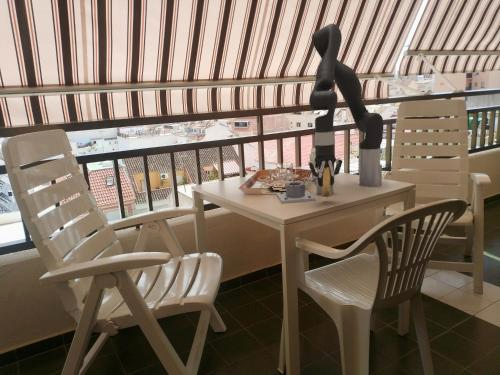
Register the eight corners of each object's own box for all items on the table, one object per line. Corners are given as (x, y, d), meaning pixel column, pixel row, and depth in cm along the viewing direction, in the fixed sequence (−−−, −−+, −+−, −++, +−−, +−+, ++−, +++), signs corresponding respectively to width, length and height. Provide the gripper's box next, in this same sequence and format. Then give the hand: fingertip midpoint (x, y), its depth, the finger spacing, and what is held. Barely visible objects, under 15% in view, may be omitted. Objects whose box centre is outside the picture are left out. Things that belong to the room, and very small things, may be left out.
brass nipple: (329, 194, 155) (328, 165, 153) (332, 196, 152) (331, 167, 149) (320, 195, 155) (319, 166, 152) (323, 197, 151) (322, 167, 148)
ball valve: (308, 178, 200) (307, 144, 196) (324, 176, 201) (324, 143, 197) (315, 185, 183) (315, 148, 179) (333, 184, 183) (332, 147, 179)
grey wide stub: (330, 191, 171) (330, 178, 169) (335, 194, 164) (335, 181, 162) (314, 192, 170) (314, 179, 169) (319, 196, 163) (318, 182, 162)
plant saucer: (285, 195, 170) (284, 188, 169) (261, 189, 184) (260, 183, 183) (313, 187, 179) (313, 181, 179) (288, 182, 194) (288, 176, 193)
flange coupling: (307, 192, 170) (306, 179, 169) (315, 200, 157) (315, 186, 155) (276, 195, 169) (275, 182, 168) (282, 203, 156) (281, 189, 154)
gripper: (339, 140, 153) (339, 182, 157) (304, 143, 151) (306, 185, 155) (345, 142, 145) (346, 186, 149) (309, 145, 144) (311, 189, 148)
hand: (325, 185), depth 152 cm, fingers closed on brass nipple, 3 cm apart
